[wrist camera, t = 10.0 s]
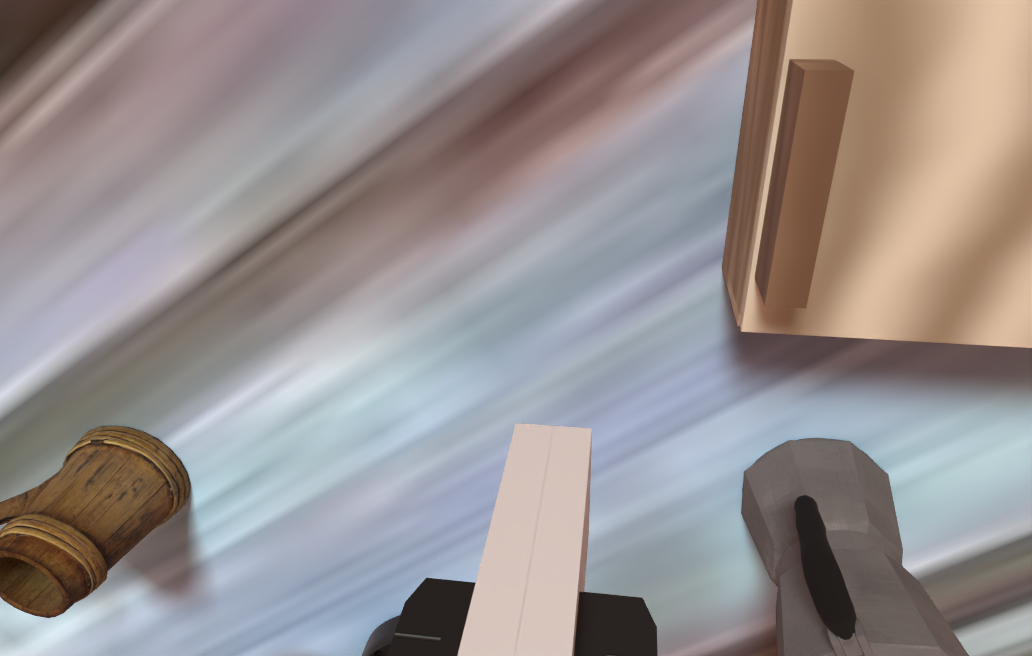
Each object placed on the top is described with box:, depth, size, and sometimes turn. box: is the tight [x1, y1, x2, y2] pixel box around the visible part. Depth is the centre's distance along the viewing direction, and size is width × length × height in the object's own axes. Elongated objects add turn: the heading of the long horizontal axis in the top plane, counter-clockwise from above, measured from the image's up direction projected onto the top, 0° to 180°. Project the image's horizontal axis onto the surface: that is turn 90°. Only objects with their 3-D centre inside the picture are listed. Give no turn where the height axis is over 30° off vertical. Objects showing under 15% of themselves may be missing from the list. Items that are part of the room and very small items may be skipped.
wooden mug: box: [0, 426, 189, 618], centre depth 46 cm, size 9×14×18 cm, turn 72°
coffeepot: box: [742, 438, 969, 656], centre depth 37 cm, size 15×9×18 cm, turn 28°
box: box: [722, 0, 789, 326], centre depth 30 cm, size 20×15×8 cm
